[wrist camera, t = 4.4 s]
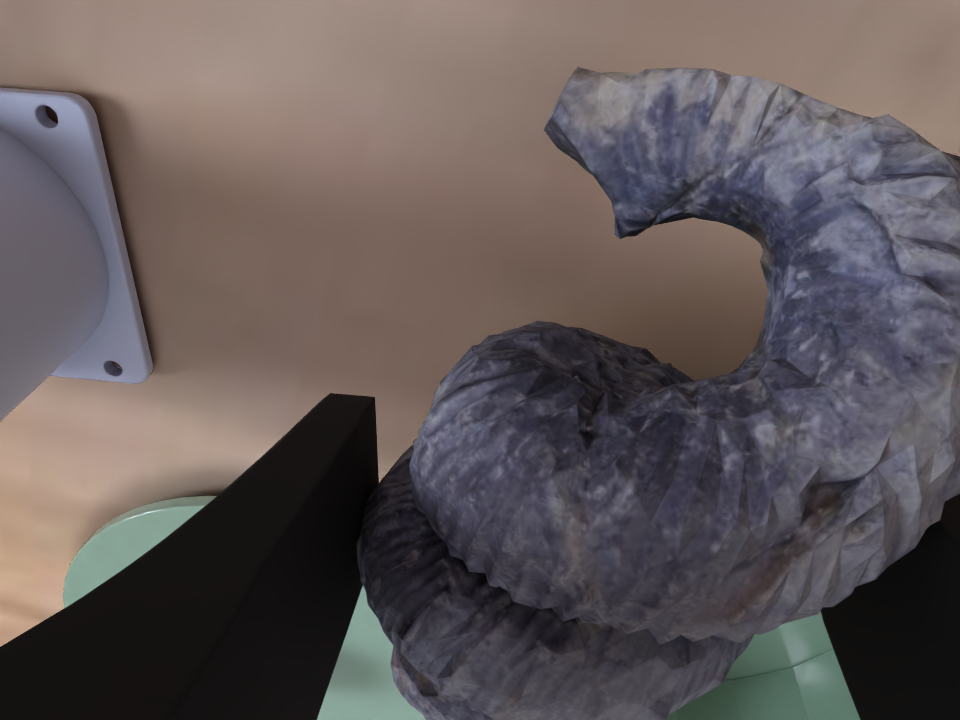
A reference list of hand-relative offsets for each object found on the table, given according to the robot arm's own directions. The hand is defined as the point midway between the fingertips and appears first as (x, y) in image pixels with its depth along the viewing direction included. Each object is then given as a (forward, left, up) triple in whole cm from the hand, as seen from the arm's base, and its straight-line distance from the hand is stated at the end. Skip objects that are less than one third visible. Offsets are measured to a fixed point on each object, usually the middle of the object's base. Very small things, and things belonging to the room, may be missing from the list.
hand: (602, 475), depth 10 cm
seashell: (0, 0, -2) cm, 2 cm away
